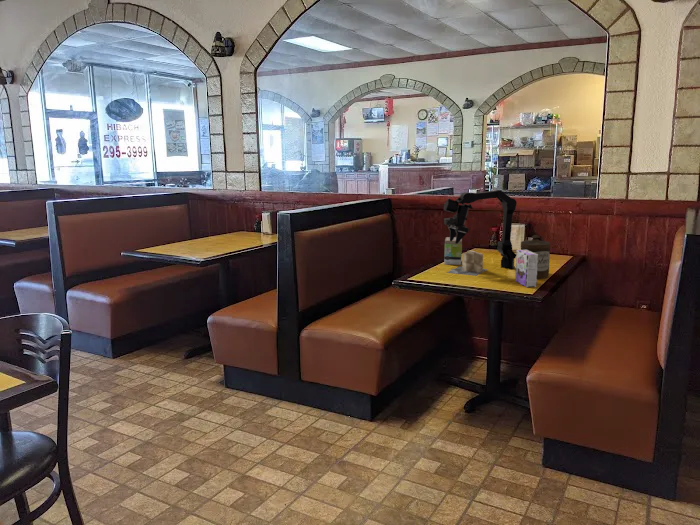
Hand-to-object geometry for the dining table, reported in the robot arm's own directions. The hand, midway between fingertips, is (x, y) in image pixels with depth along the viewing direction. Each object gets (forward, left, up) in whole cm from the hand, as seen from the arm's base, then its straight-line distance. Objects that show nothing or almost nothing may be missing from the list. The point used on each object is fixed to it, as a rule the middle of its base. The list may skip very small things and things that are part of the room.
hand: (453, 242), depth 308 cm
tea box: (+8, -21, -17) cm, 28 cm away
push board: (-8, -1, -16) cm, 18 cm away
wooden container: (-43, -7, -17) cm, 46 cm away
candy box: (-44, +13, -17) cm, 48 cm away
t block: (-9, -3, -16) cm, 19 cm away
